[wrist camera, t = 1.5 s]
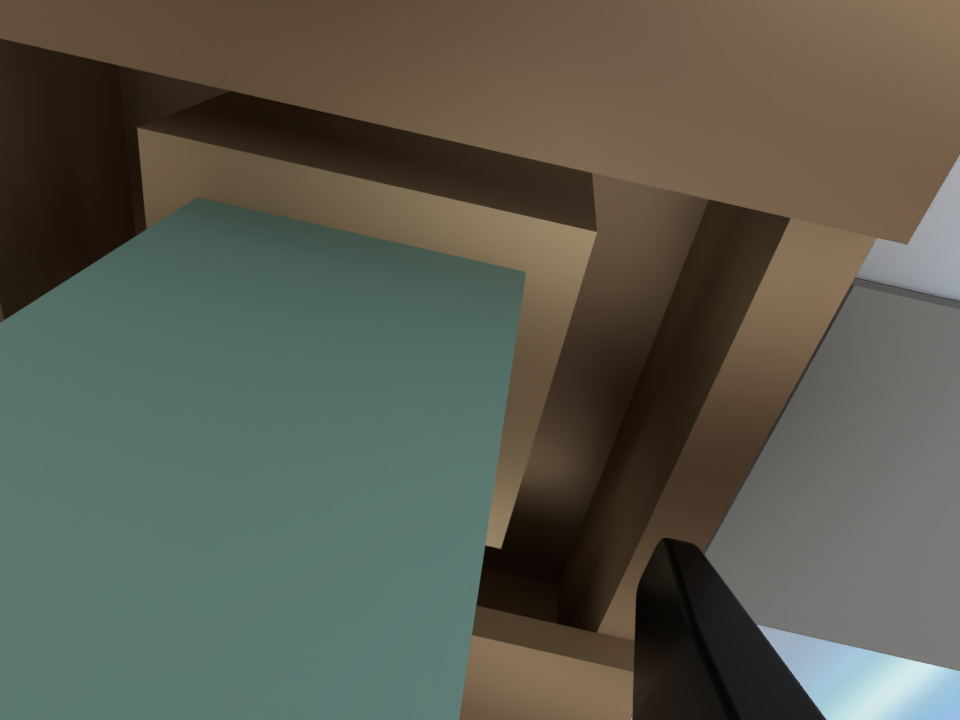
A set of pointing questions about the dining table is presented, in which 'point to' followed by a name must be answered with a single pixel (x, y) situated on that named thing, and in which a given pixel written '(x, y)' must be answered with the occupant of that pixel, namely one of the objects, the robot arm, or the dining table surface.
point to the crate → (523, 229)
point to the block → (250, 475)
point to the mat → (860, 487)
